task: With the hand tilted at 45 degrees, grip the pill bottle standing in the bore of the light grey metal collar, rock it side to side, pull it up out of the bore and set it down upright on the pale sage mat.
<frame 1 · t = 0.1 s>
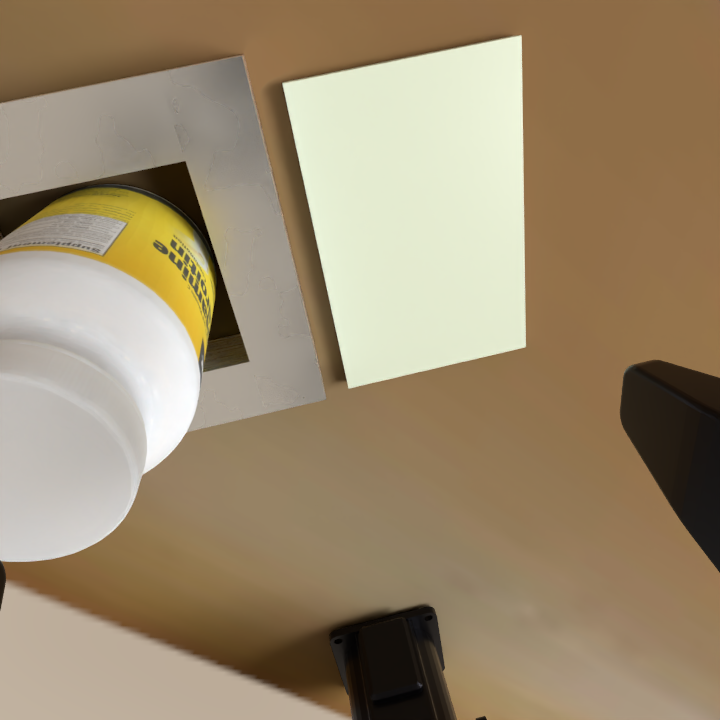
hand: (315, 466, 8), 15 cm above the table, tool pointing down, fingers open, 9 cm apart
pill bottle: (129, 266, 21), resting in collar
mat: (419, 231, 22), on the table
collar: (128, 268, 20), on the table
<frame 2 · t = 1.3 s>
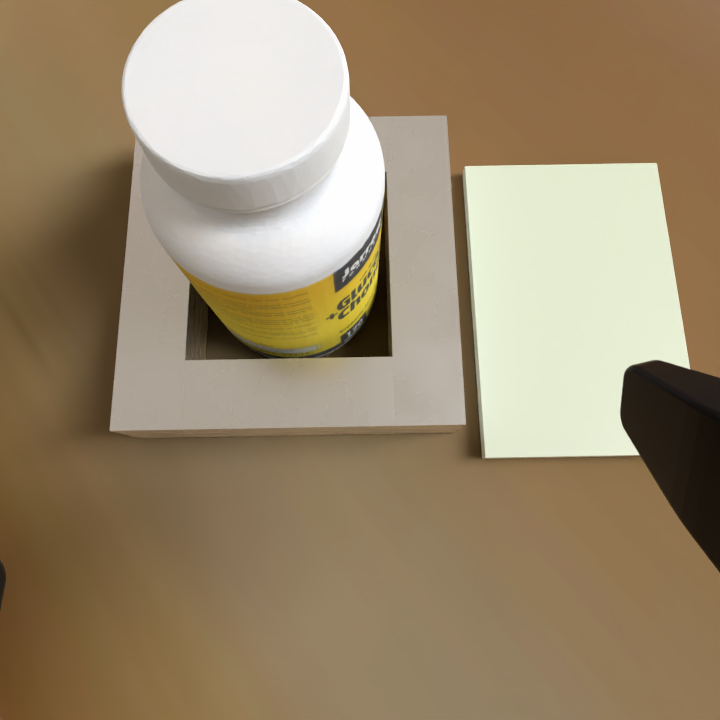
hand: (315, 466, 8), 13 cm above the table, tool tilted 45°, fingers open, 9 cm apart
pill bottle: (298, 289, 23), resting in collar
mat: (571, 305, 22), on the table
collar: (297, 287, 22), on the table
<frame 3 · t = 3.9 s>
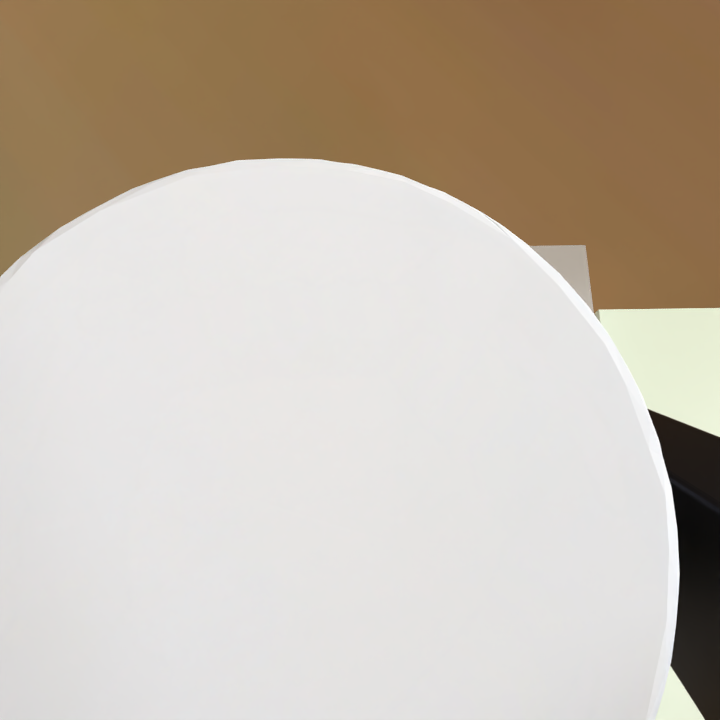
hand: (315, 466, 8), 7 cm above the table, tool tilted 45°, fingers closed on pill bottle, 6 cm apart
pill bottle: (342, 504, 15), resting in collar, touching gripper
collar: (342, 504, 14), on the table
when the fingers open (8 cm above the table, at t = 9.7 s): pill bottle stays where it is, resting on mat.
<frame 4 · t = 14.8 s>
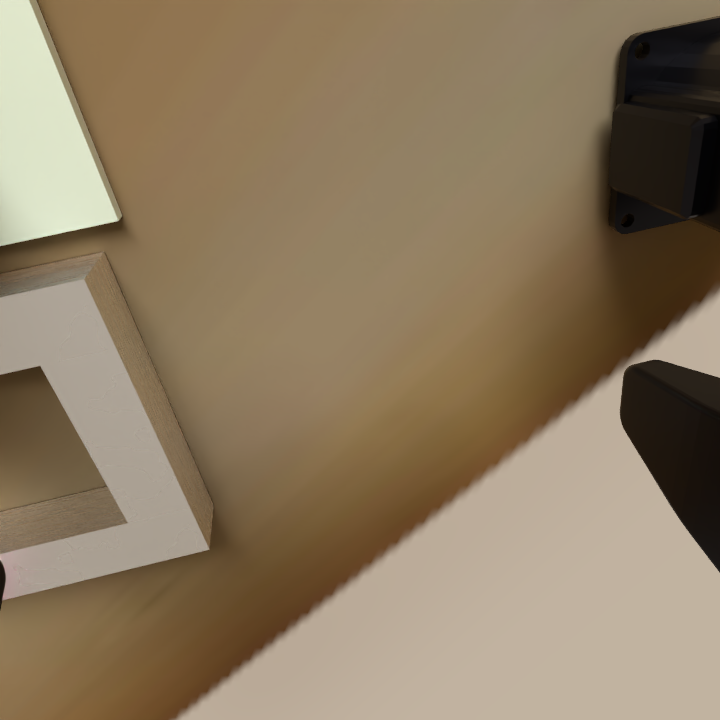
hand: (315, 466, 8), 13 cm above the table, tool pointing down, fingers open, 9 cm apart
collar: (11, 432, 21), on the table
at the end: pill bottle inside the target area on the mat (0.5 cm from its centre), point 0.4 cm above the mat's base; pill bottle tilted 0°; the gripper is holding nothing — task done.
